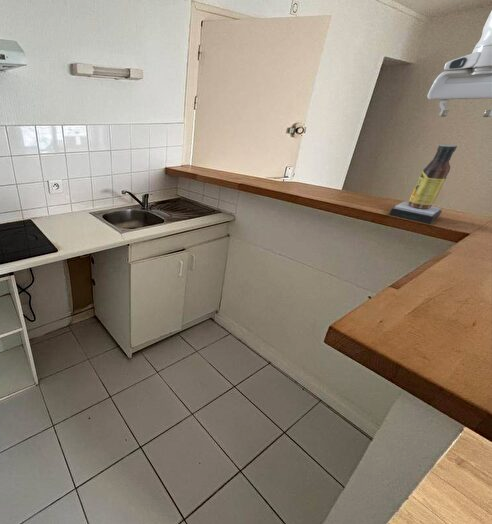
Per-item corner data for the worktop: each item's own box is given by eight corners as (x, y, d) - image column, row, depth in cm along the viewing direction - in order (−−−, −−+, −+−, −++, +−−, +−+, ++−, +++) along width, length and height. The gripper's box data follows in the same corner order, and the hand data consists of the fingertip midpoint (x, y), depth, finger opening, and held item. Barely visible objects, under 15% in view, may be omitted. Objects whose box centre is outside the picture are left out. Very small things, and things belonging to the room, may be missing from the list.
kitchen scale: (438, 217, 97) (443, 208, 96) (429, 224, 91) (434, 214, 90) (399, 209, 105) (403, 200, 103) (388, 215, 99) (392, 206, 98)
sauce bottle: (410, 203, 101) (438, 143, 91) (433, 207, 96) (465, 145, 86) (403, 206, 97) (431, 144, 88) (426, 211, 93) (459, 146, 83)
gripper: (554, 55, 71) (519, 117, 78) (444, 64, 85) (422, 116, 92) (552, 53, 68) (516, 117, 74) (438, 63, 82) (417, 116, 89)
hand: (463, 116), depth 83 cm, fingers open, 8 cm apart
